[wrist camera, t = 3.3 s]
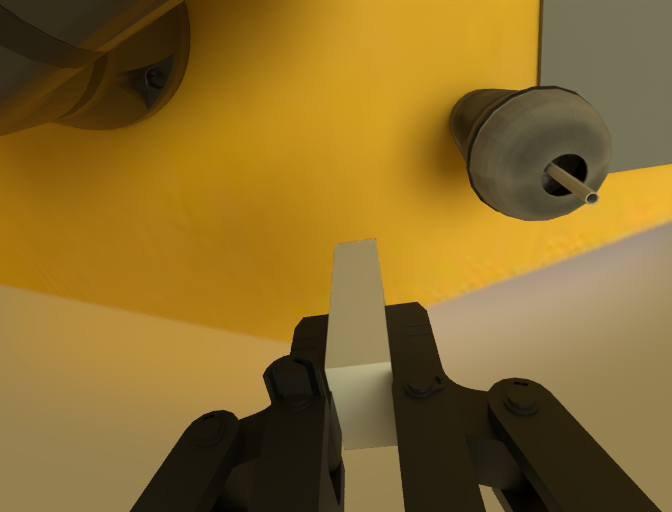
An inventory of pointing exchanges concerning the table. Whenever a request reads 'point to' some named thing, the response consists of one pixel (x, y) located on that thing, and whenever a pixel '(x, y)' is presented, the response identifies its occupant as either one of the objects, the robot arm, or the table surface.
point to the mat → (615, 70)
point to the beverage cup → (532, 150)
